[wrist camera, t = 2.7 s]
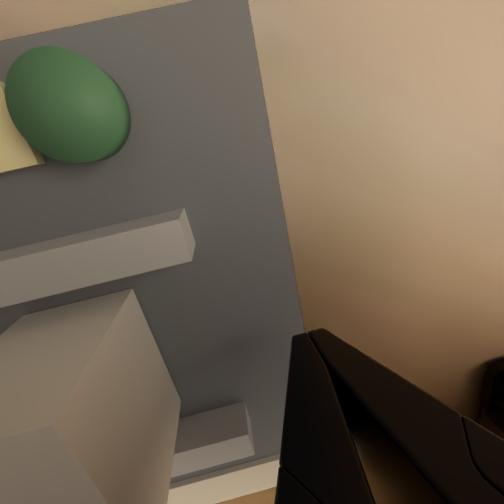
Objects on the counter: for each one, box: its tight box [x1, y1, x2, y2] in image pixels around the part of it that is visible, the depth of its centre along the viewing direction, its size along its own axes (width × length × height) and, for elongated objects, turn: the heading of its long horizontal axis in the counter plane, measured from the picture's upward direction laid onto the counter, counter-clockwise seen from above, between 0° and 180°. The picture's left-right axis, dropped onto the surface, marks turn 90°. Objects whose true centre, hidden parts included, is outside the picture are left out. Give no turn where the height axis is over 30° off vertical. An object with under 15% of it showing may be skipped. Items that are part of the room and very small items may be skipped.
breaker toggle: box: [0, 289, 181, 504], centre depth 6 cm, size 3×4×4 cm
